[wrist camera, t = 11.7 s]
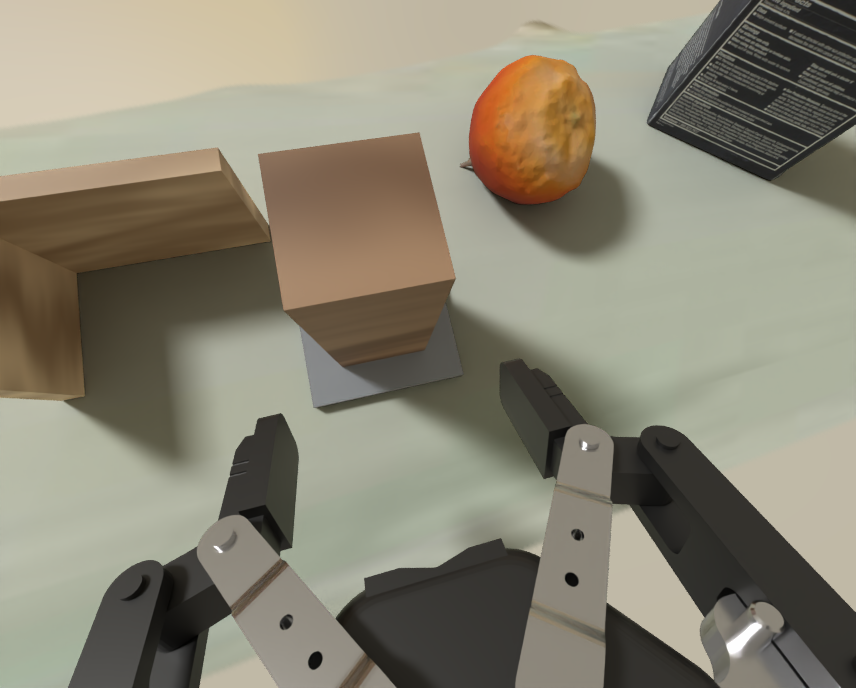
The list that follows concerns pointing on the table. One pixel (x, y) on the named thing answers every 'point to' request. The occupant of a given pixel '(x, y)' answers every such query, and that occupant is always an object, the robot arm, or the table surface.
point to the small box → (763, 82)
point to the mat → (381, 368)
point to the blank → (358, 245)
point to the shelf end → (100, 248)
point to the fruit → (533, 131)
